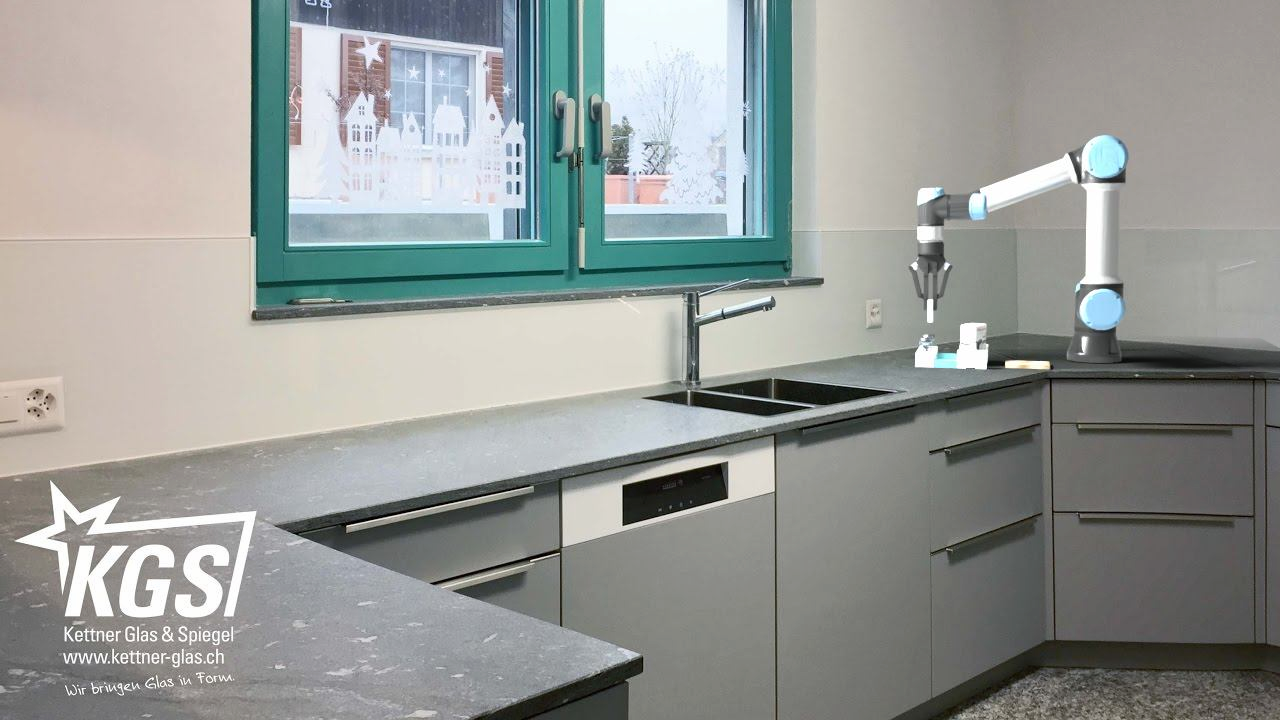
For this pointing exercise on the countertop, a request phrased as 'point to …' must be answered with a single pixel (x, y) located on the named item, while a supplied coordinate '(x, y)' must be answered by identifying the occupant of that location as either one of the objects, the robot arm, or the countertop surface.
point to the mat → (1027, 364)
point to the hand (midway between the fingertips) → (930, 321)
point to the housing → (952, 358)
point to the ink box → (973, 336)
